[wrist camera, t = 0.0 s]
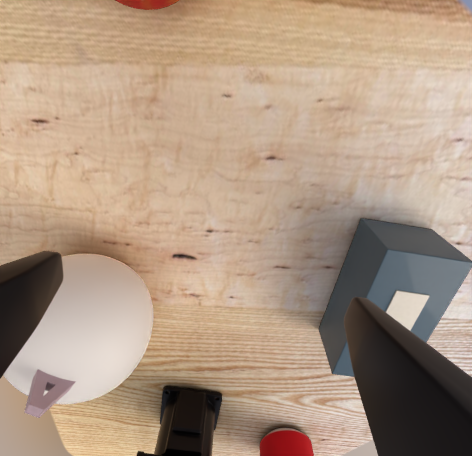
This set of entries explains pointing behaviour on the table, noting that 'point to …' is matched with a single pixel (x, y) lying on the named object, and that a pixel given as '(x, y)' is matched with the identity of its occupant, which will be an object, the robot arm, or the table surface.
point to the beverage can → (286, 443)
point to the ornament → (85, 335)
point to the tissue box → (393, 282)
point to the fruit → (147, 3)
